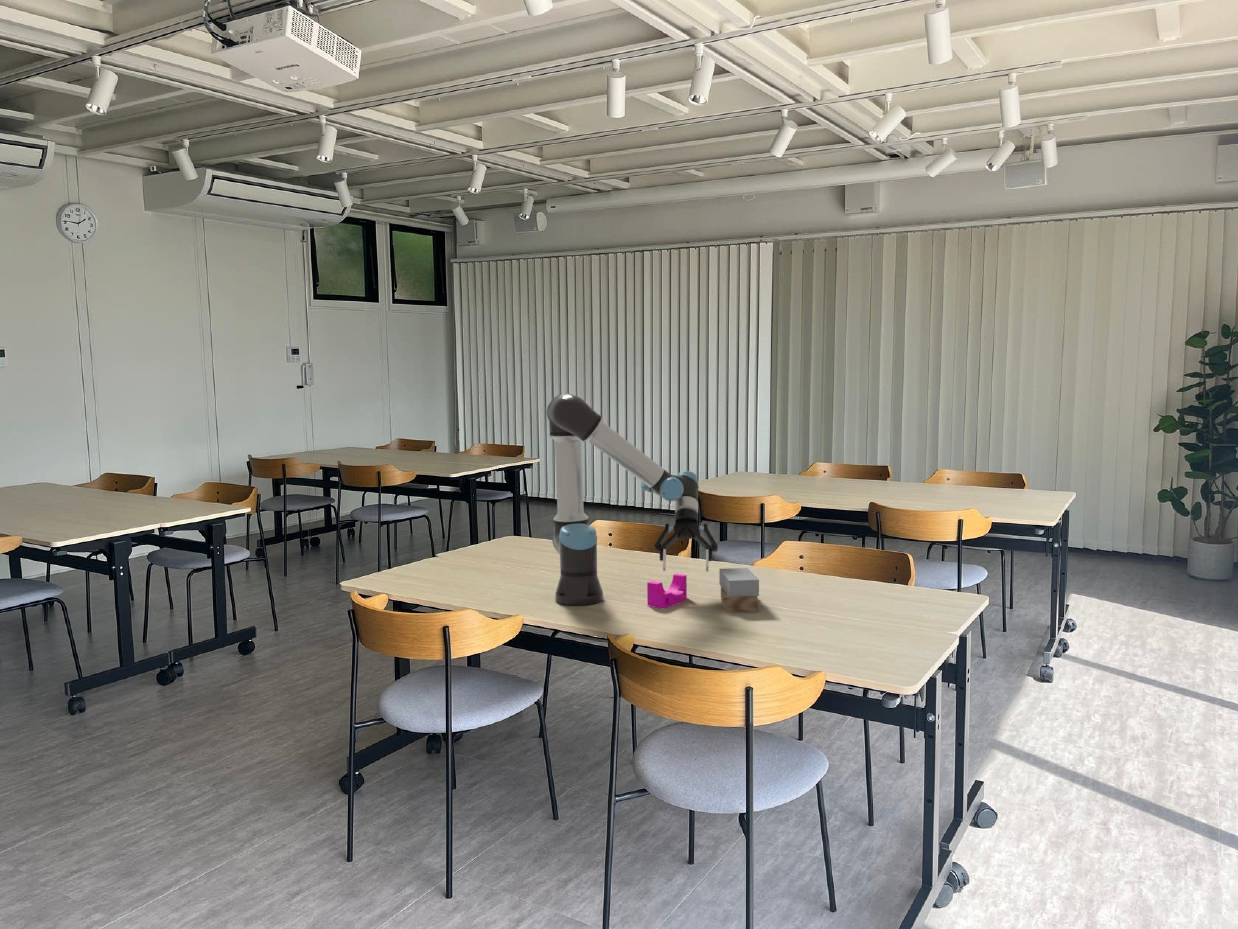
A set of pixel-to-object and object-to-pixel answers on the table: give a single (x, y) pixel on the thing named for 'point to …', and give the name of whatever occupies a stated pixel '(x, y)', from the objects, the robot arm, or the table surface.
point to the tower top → (739, 582)
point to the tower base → (739, 603)
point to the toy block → (667, 592)
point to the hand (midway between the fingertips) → (685, 569)
